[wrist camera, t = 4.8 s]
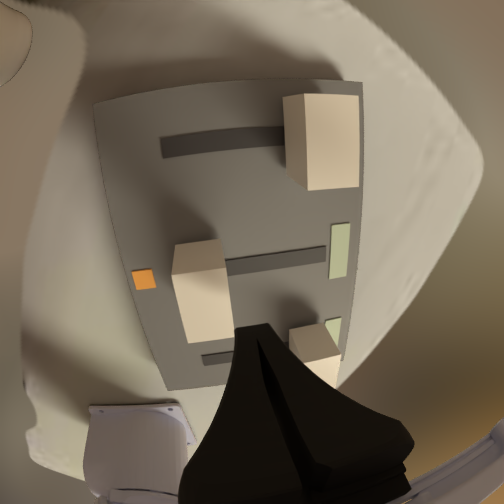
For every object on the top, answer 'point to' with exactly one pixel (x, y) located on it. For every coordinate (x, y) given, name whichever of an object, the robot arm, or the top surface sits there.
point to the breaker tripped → (202, 290)
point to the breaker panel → (226, 214)
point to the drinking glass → (13, 41)
